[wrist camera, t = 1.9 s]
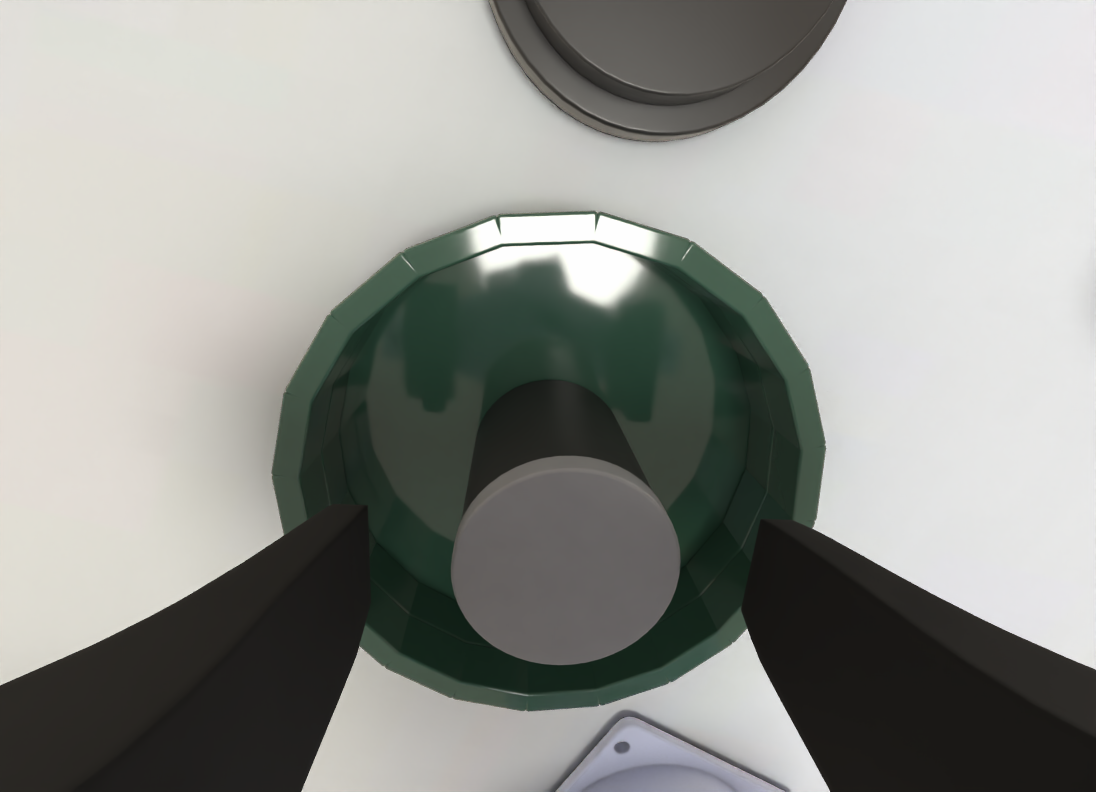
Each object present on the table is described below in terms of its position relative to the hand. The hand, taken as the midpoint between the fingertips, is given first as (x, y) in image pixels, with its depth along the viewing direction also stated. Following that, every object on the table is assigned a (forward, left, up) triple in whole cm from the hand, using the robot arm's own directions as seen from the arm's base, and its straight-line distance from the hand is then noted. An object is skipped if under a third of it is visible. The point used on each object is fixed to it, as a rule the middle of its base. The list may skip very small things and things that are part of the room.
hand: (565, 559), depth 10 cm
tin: (0, 0, -6) cm, 6 cm away
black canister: (0, 0, -5) cm, 5 cm away
